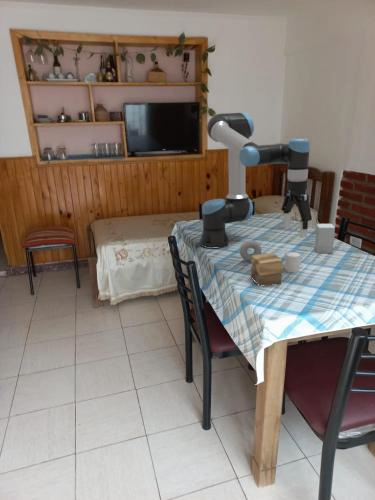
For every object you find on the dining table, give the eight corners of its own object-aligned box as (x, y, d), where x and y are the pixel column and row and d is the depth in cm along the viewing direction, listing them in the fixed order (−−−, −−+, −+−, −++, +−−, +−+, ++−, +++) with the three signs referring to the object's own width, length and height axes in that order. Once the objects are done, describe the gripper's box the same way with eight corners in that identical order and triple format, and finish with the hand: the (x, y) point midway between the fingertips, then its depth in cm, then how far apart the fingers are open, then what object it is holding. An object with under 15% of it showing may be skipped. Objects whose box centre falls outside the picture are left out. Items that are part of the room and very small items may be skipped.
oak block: (251, 266, 141) (251, 255, 140) (272, 264, 143) (272, 252, 141) (260, 275, 133) (260, 263, 131) (282, 272, 135) (282, 260, 133)
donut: (260, 259, 162) (260, 238, 159) (262, 261, 159) (262, 240, 156) (238, 260, 162) (239, 239, 159) (240, 263, 159) (240, 242, 155)
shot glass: (281, 267, 152) (282, 252, 150) (297, 266, 152) (298, 251, 150) (287, 273, 145) (288, 257, 143) (303, 272, 146) (304, 256, 144)
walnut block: (250, 278, 143) (251, 266, 142) (271, 275, 145) (271, 264, 143) (259, 287, 135) (259, 275, 133) (281, 284, 136) (281, 272, 135)
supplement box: (332, 253, 165) (335, 227, 161) (316, 253, 166) (318, 227, 162) (330, 248, 172) (332, 223, 167) (314, 247, 173) (316, 223, 169)
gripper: (324, 183, 125) (319, 239, 132) (291, 175, 149) (288, 224, 155) (304, 185, 124) (301, 242, 131) (274, 177, 147) (273, 225, 154)
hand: (294, 232), depth 143 cm, fingers open, 13 cm apart
